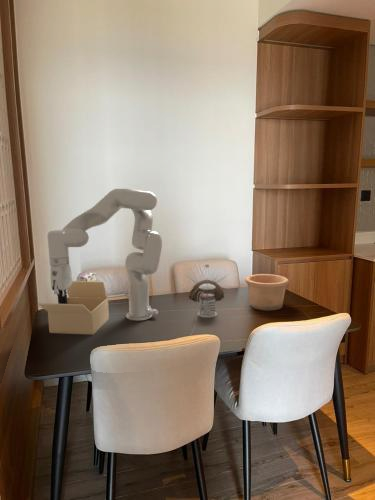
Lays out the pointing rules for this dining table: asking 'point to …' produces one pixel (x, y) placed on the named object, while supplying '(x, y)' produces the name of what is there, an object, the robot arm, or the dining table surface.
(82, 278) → the candy bar box
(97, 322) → the carton
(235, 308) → the dining table surface
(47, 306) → the front flap
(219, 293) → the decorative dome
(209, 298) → the french press
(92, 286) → the back flap
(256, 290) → the pottery
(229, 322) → the dining table surface
